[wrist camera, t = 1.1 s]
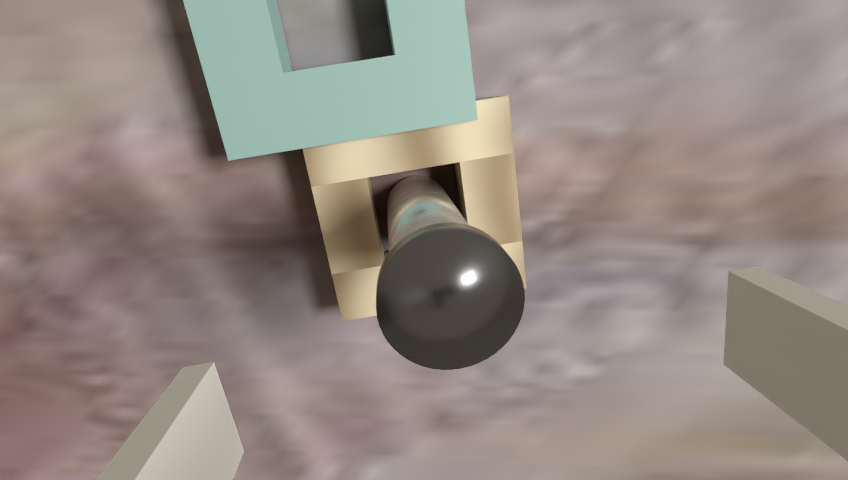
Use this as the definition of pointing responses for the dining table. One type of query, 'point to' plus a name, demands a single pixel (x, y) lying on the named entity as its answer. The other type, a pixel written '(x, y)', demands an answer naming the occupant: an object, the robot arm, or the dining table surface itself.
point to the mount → (360, 159)
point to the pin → (443, 282)
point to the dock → (330, 77)
